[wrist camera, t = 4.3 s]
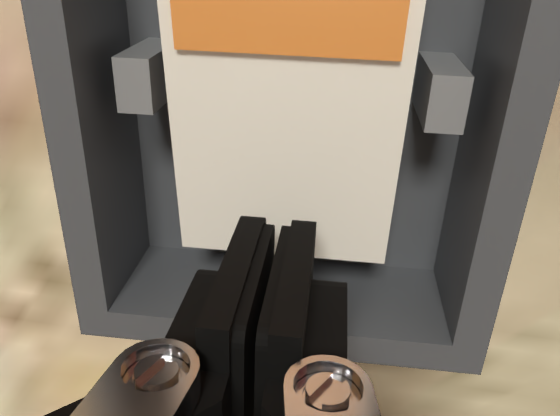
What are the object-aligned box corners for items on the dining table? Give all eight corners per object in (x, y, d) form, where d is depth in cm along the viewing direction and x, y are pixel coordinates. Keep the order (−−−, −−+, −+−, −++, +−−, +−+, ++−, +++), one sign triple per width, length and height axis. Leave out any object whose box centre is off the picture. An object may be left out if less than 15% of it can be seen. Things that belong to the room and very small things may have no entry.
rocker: (382, 234, 14) (384, 268, 13) (194, 219, 14) (180, 249, 13) (436, -127, 10) (447, -125, 8) (163, -134, 10) (140, -132, 9)
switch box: (441, 243, 18) (480, 374, 13) (157, 219, 19) (81, 334, 14) (530, -218, 13) (670, -333, 7) (119, -221, 13) (-39, -327, 8)
